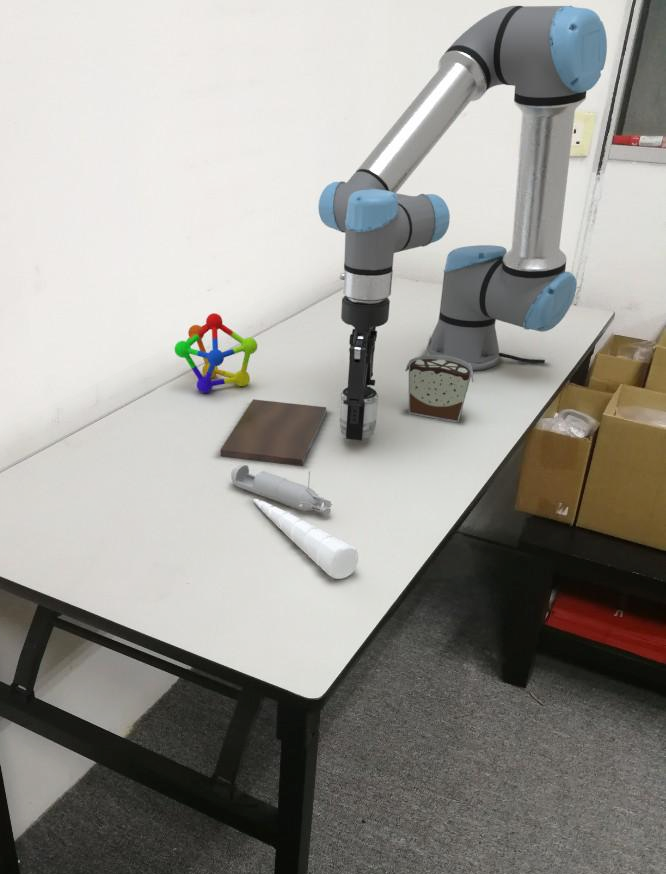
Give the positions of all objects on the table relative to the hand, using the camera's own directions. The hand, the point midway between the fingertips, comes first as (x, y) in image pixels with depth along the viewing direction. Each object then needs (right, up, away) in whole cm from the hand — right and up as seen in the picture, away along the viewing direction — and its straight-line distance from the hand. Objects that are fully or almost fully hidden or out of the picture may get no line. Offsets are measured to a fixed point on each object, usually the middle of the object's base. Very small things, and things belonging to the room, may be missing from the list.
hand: (357, 429), depth 147 cm
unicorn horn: (-11, -19, -26) cm, 35 cm away
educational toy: (-25, +11, +21) cm, 35 cm away
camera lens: (0, -1, 0) cm, 1 cm away
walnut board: (-14, 0, +4) cm, 14 cm away
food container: (+16, +5, +13) cm, 21 cm away
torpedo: (-14, -13, -16) cm, 25 cm away
